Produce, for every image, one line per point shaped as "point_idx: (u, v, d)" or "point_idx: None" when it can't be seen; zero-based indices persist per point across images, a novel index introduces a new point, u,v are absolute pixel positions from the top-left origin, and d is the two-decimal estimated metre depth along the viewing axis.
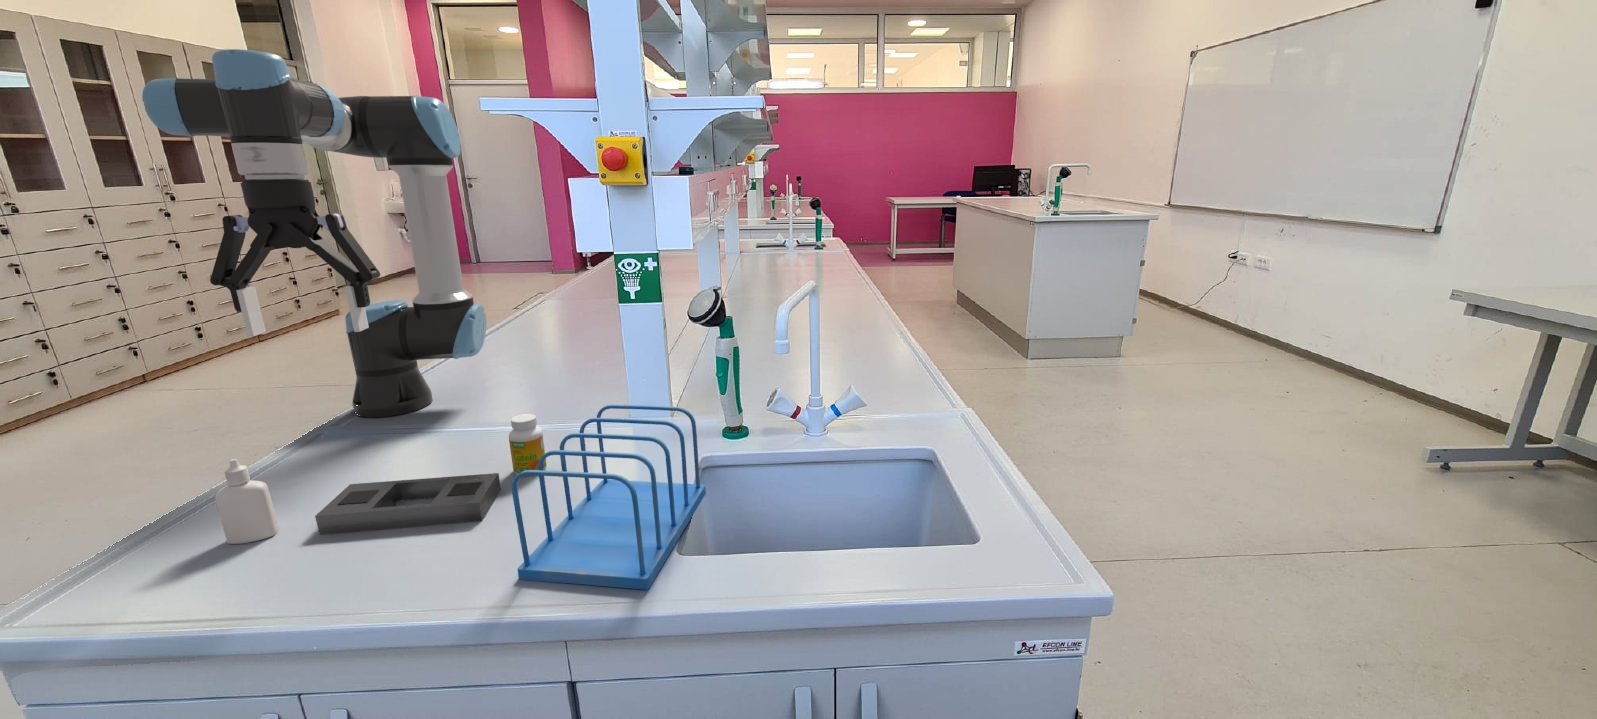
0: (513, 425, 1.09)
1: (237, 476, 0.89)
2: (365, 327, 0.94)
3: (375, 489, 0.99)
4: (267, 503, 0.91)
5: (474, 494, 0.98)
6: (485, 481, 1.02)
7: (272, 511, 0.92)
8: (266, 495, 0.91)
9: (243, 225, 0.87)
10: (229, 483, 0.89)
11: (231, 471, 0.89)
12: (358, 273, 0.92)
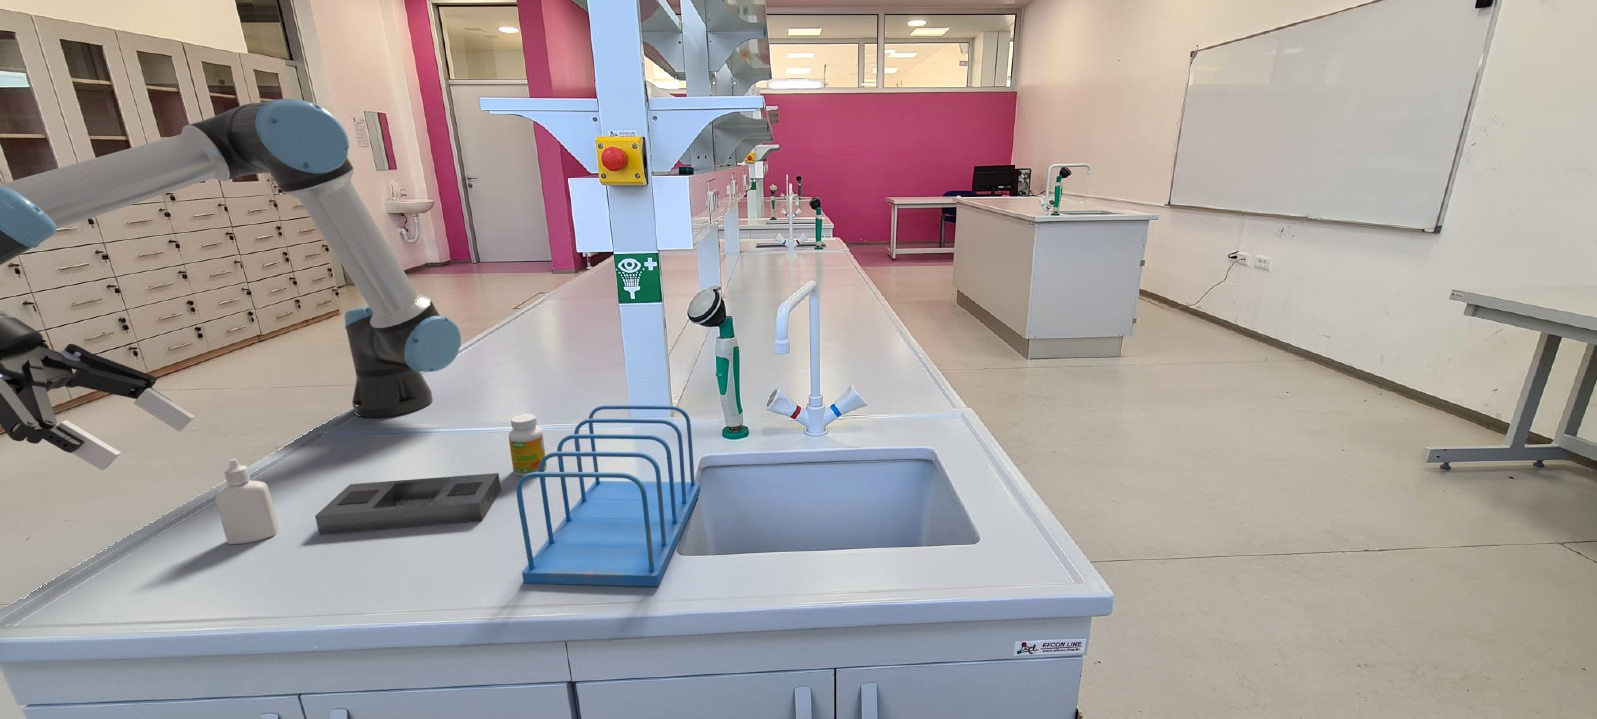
0: (513, 425, 1.09)
1: (237, 476, 0.89)
2: (109, 459, 0.80)
3: (375, 489, 0.99)
4: (267, 503, 0.91)
5: (474, 494, 0.98)
6: (485, 481, 1.02)
7: (272, 511, 0.92)
8: (266, 495, 0.91)
9: None
10: (229, 483, 0.89)
11: (231, 471, 0.89)
12: None
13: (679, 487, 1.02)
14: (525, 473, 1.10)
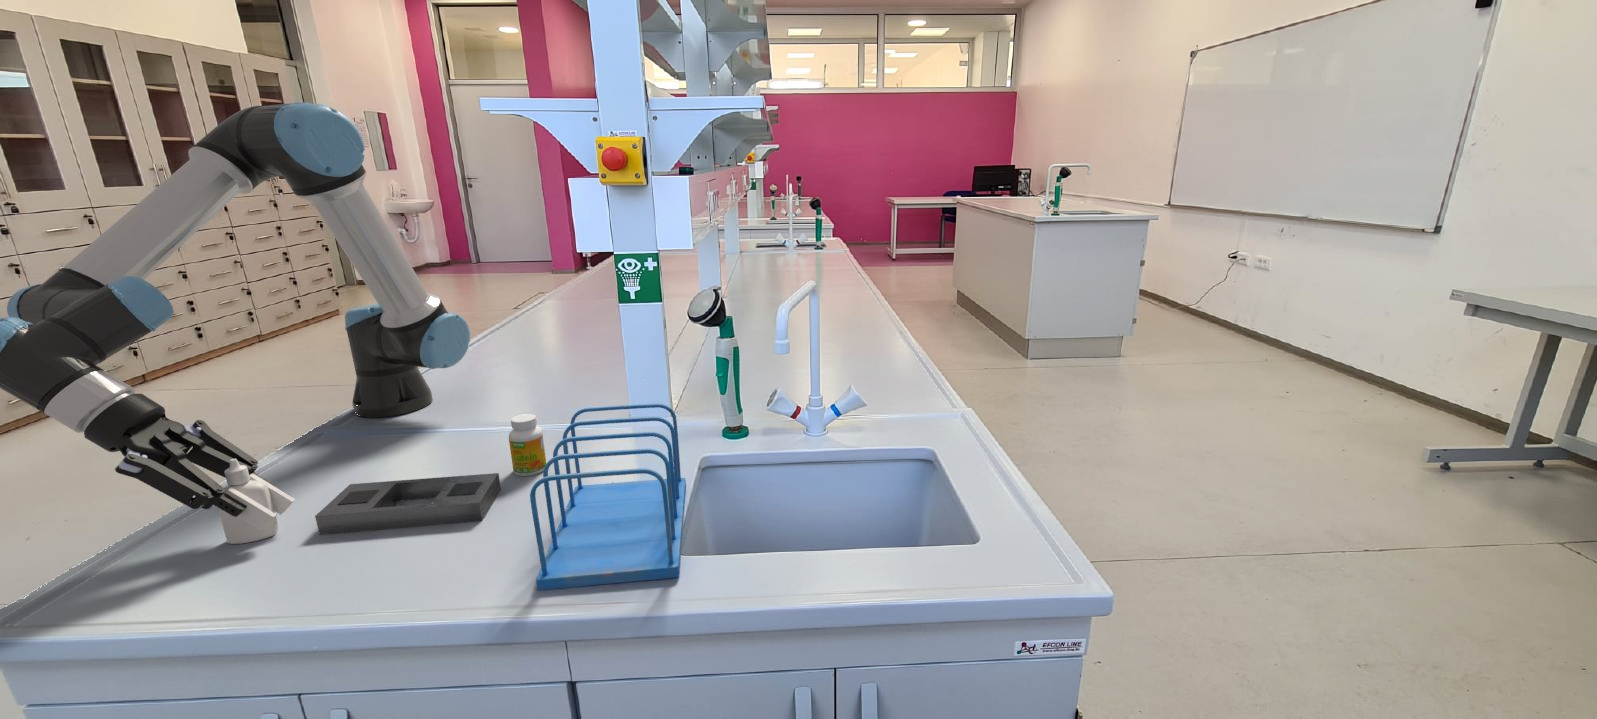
0: (513, 425, 1.09)
1: (237, 476, 0.89)
2: (267, 520, 0.90)
3: (375, 489, 0.99)
4: (267, 503, 0.91)
5: (474, 494, 0.98)
6: (485, 481, 1.02)
7: (272, 511, 0.92)
8: (266, 495, 0.91)
9: None
10: (229, 483, 0.89)
11: (231, 471, 0.89)
12: None
13: (666, 484, 1.03)
14: (525, 473, 1.10)
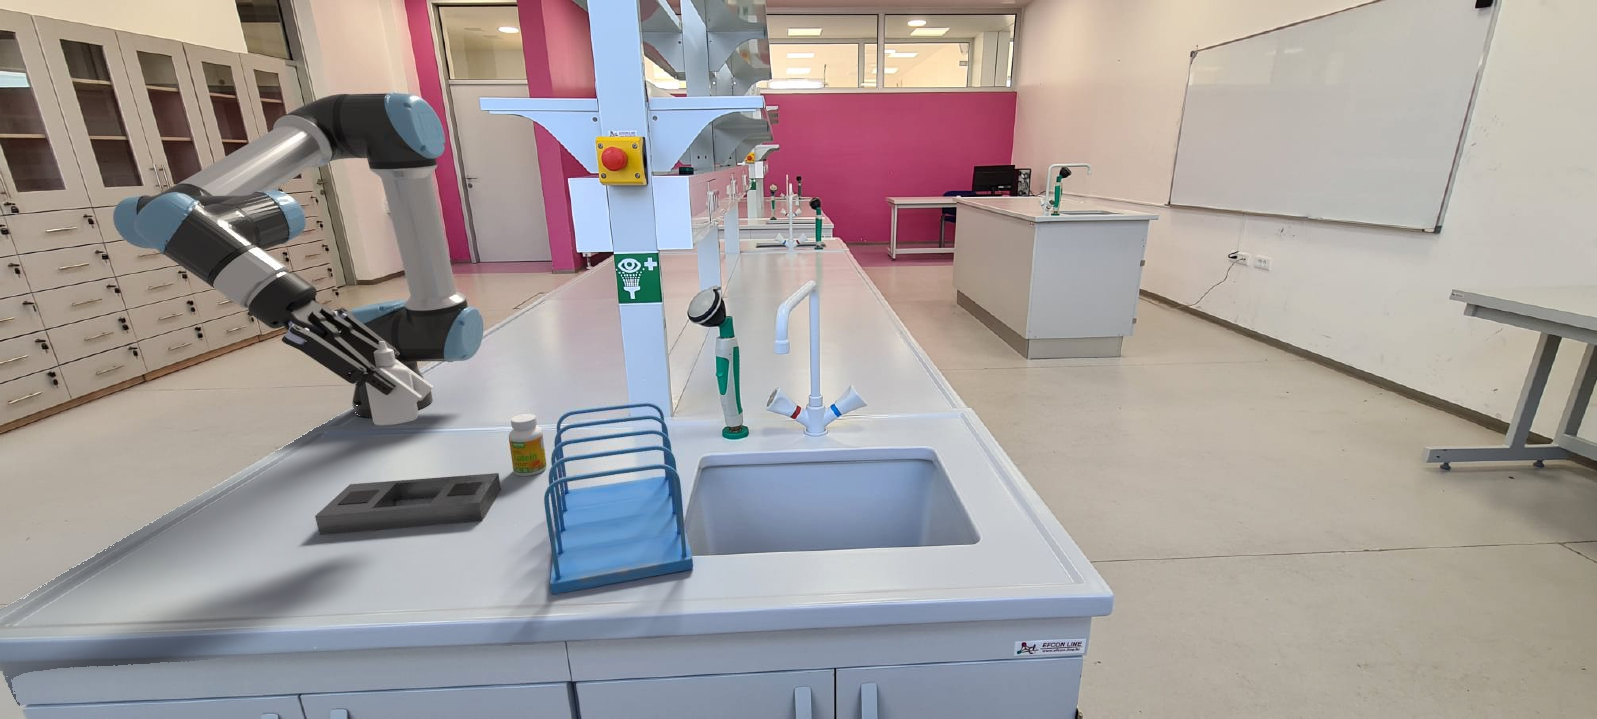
0: (513, 425, 1.09)
1: (386, 357, 0.91)
2: (414, 401, 0.92)
3: (375, 489, 0.99)
4: (411, 387, 0.94)
5: (474, 494, 0.98)
6: (485, 481, 1.02)
7: None
8: (410, 379, 0.94)
9: None
10: (378, 364, 0.91)
11: (380, 352, 0.91)
12: None
13: (655, 482, 1.03)
14: (525, 473, 1.10)
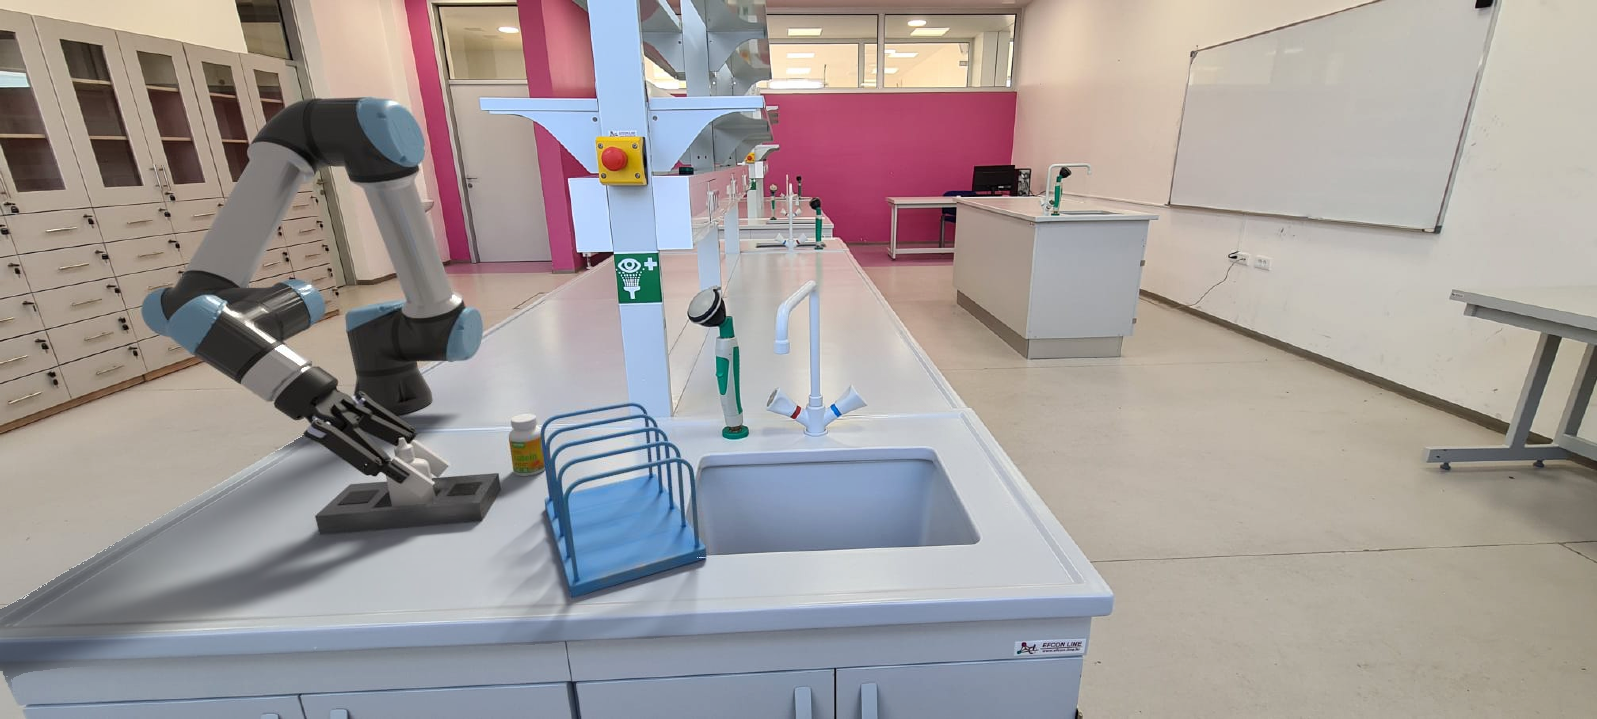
0: (513, 425, 1.09)
1: (405, 454, 0.96)
2: (427, 488, 0.95)
3: (375, 489, 0.99)
4: None
5: (474, 494, 0.98)
6: (485, 481, 1.02)
7: (432, 487, 0.99)
8: (428, 472, 0.98)
9: None
10: None
11: (400, 449, 0.95)
12: None
13: (640, 481, 1.04)
14: (525, 473, 1.10)
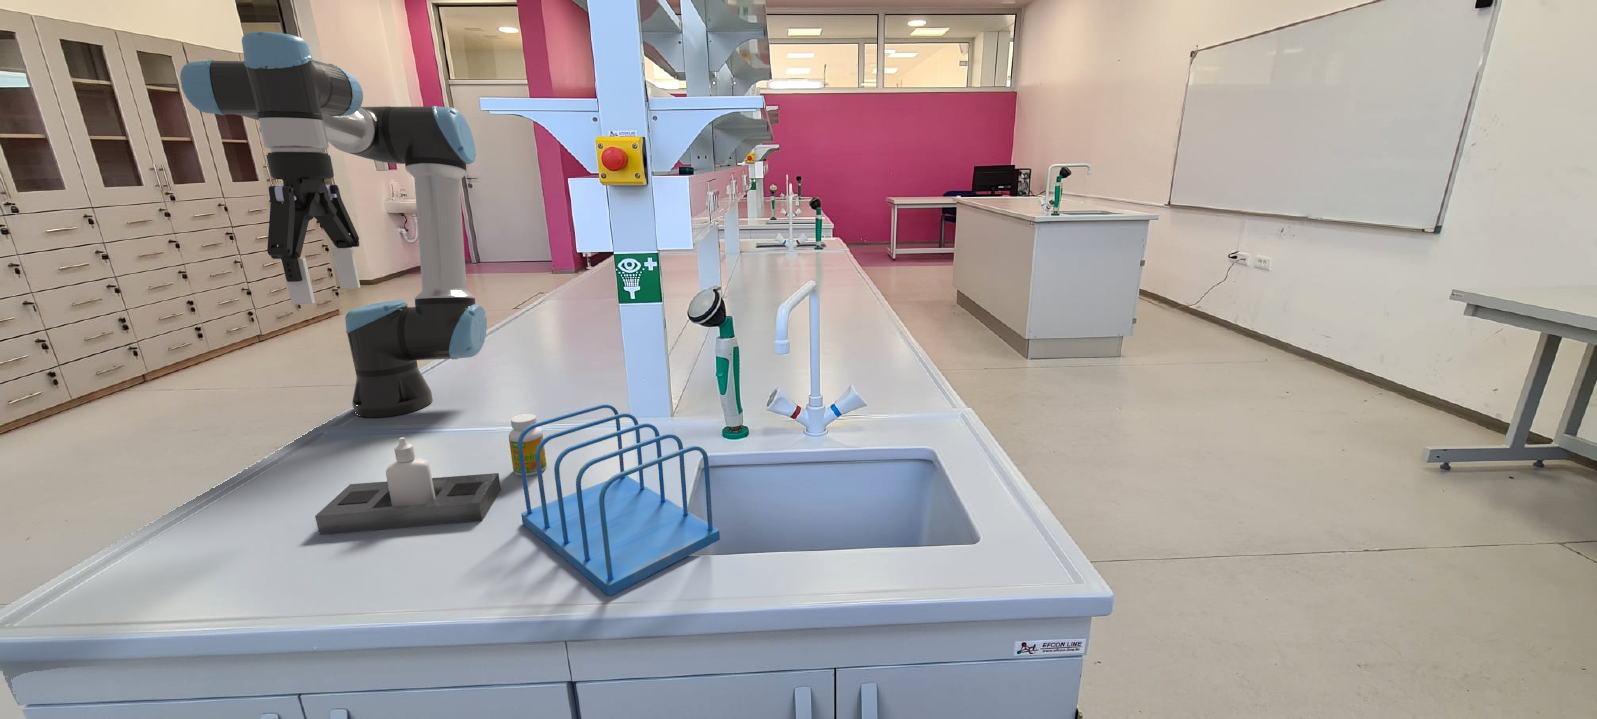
0: (513, 425, 1.09)
1: (406, 453, 0.96)
2: (304, 302, 0.93)
3: (375, 489, 0.99)
4: (429, 479, 0.98)
5: (474, 494, 0.98)
6: (485, 481, 1.02)
7: (432, 487, 0.99)
8: (429, 472, 0.98)
9: None
10: (398, 460, 0.96)
11: (401, 448, 0.95)
12: None
13: (615, 483, 1.03)
14: None
